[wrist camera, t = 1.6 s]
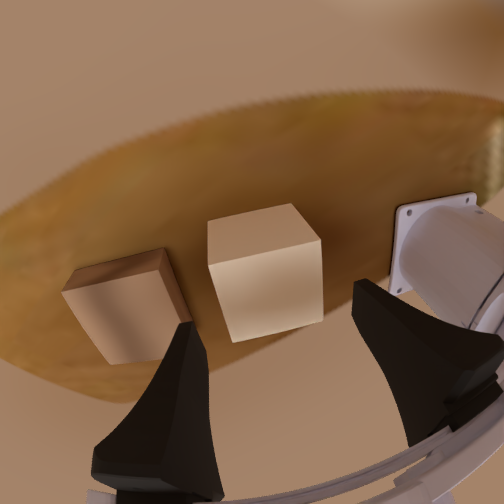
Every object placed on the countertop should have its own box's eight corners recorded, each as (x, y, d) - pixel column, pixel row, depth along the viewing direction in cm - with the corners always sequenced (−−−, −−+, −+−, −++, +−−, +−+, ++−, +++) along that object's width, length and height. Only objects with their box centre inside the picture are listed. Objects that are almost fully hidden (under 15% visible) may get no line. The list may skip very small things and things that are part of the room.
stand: (164, 247, 16) (158, 269, 14) (196, 328, 20) (196, 353, 18) (74, 270, 16) (61, 292, 14) (116, 341, 20) (110, 364, 17)
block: (290, 202, 16) (320, 239, 12) (298, 271, 19) (323, 320, 14) (207, 220, 16) (207, 265, 12) (226, 288, 18) (232, 342, 14)
